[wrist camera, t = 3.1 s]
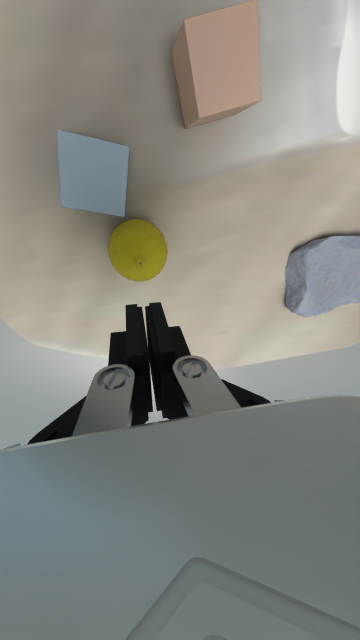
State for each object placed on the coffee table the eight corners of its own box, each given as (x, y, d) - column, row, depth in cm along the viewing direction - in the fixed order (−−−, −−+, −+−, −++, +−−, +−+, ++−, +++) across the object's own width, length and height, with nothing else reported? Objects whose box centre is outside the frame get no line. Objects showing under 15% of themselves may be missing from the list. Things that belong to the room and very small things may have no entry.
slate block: (70, 138, 21) (56, 129, 17) (128, 152, 22) (129, 146, 18) (72, 200, 23) (60, 206, 19) (124, 209, 25) (124, 217, 20)
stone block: (277, 245, 32) (282, 313, 35) (300, 246, 27) (303, 324, 31) (355, 224, 33) (352, 292, 37) (390, 222, 29) (383, 300, 32)
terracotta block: (171, 53, 19) (183, 19, 15) (229, 36, 20) (257, -2, 15) (185, 129, 22) (199, 118, 18) (236, 114, 22) (261, 100, 18)
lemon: (99, 242, 26) (90, 266, 19) (133, 201, 24) (136, 211, 18) (139, 274, 28) (144, 305, 22) (171, 239, 27) (187, 260, 20)
